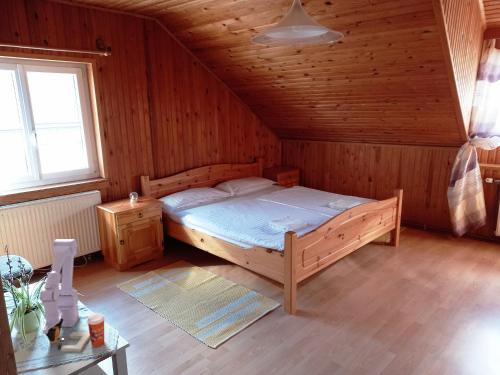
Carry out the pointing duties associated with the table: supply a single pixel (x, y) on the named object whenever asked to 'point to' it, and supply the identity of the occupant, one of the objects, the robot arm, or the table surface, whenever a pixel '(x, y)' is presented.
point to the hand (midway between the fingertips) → (54, 337)
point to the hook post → (59, 343)
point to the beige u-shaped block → (80, 345)
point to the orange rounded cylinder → (56, 334)
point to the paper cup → (96, 329)
